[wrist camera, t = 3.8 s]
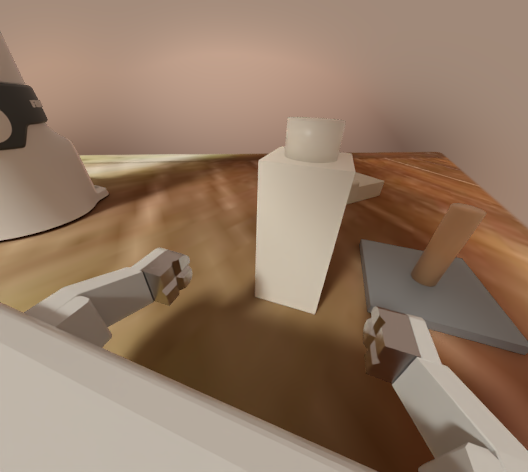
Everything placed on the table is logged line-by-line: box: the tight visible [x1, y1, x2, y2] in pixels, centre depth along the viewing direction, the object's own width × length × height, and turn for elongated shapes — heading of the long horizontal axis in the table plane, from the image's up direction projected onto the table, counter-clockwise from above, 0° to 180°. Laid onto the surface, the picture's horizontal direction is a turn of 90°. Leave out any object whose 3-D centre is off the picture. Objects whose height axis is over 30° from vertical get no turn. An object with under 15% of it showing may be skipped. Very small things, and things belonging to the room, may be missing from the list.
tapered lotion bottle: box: [255, 117, 355, 314], centre depth 15 cm, size 5×5×13 cm
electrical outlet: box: [346, 172, 384, 205], centre depth 36 cm, size 7×4×18 cm
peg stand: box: [359, 203, 528, 355], centre depth 17 cm, size 10×10×8 cm
